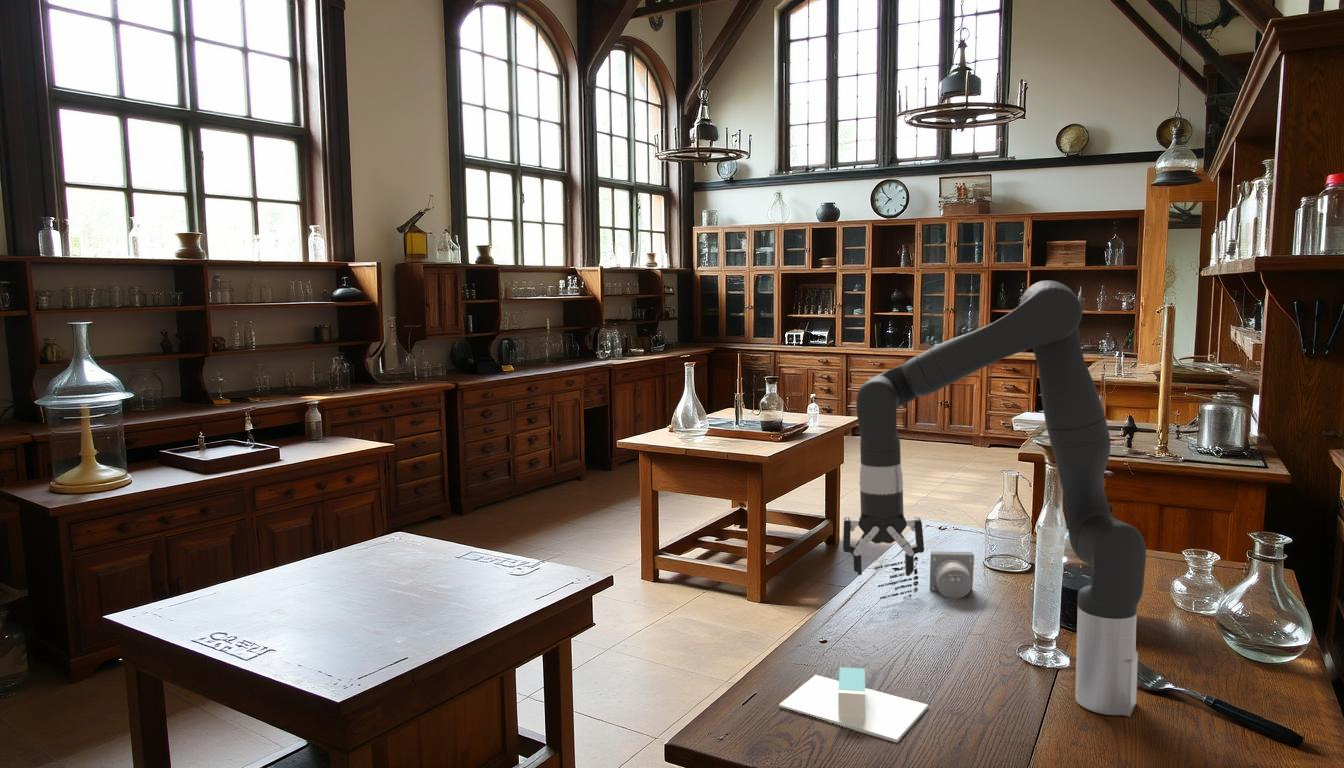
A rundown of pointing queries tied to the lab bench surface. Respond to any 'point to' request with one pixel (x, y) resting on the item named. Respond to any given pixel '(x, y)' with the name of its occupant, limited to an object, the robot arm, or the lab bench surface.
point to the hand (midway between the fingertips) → (883, 574)
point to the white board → (881, 710)
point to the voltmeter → (943, 574)
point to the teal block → (851, 693)
